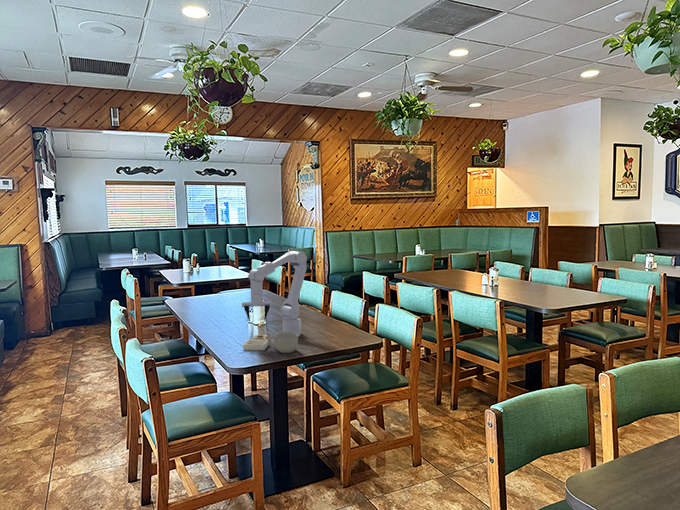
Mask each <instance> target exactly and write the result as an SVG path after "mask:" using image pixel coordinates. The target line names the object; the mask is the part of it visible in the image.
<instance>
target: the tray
mask: <svg viewBox="0 0 680 510" xmlns="http://www.w3.org/2000/svg"><path fill="white" fill-rule="evenodd" d="M267 340H268V339H253V338H252V339H251V338H250V339H249V338H248V339H247V340H246V341H245V342H244V343H243V344H242V350H243V351H265V350H266V349H267V348H268V346H269V345H270V344H269V343H268V341H267Z"/></svg>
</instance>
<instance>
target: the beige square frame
mask: <svg viewBox="0 0 680 510" xmlns="http://www.w3.org/2000/svg"><path fill="white" fill-rule="evenodd" d="M268 335H269V334H262V337H258V334H255V335H254V336H253V337H252V339H268V337H269V336H268Z"/></svg>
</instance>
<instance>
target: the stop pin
mask: <svg viewBox="0 0 680 510" xmlns="http://www.w3.org/2000/svg"><path fill="white" fill-rule="evenodd" d="M263 327H264V326H263V323H262V324H257V330H258V331H257V335H258V337H262V335H263Z"/></svg>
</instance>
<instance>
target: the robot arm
mask: <svg viewBox="0 0 680 510" xmlns="http://www.w3.org/2000/svg"><path fill="white" fill-rule="evenodd" d="M307 261H308V256H307V255H306V253H305V252H304V251H297V250H296V251H295V250H290V251H287V252H285V253H284V254H283V255H282V256H280V257H279V258H277V259H276V260H274V261H272V262H271V261H265V262H264V263H263V264H262V265H261V266H257V268H253V269H251V270H250V271H249V273H248V275H247V277H248V279H249V280H250V281H249V282H250V301H248V302H241V307H242V308H243V309H244V311H245V314H246V317H247V319H248V320H247V321H248V323H249V322H251V314H250V308H251V307H264V309H263V311H264V314H263V315H264V317H263V320H264V322H266V321H267V316H268V312H269V310H270V308H271V307H273V304H272V303H273V302H272V301H264V299H263V298H264V297H263V296H264V294H263V293H264V292H263V289H264V288H263V281H264V280H265V278H266V277H268V276H269V275H271V274H273V273H274V272H276V269H277V268H279V267H280V266H283V265H286V263H289V264H290V265H292V267H293V268H294V274H293V278H292V281H291V285H290V287H289V288H290V289H289V291H288V295H287V299H285V300H284V301H283V304H282V305H281V306H280V308H279V313H280V315H281V317H282V332H295V333H297V334H298V338H299V337H300V336H301V334H302V319H301V318H298V317H299V315H300V307H301V306H300V303H299V298H300V294H301V291H302V287H303V283H304V279H305V275H306V272H307Z"/></svg>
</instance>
